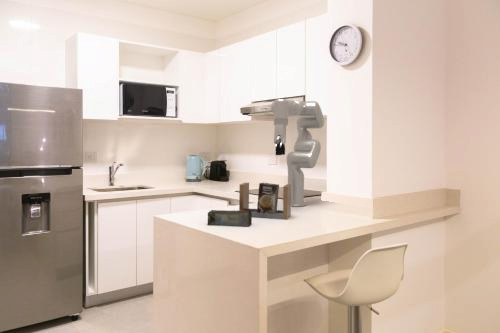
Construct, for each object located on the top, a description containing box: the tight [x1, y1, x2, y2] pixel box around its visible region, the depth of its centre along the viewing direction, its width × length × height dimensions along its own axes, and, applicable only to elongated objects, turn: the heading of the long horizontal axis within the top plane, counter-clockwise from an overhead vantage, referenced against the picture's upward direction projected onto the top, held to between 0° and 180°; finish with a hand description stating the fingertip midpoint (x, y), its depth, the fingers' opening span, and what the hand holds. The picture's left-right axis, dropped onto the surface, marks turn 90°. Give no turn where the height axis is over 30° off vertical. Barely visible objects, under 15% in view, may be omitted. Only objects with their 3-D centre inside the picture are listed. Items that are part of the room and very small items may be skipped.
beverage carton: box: [207, 209, 253, 228], centre depth 187 cm, size 8×19×7 cm, turn 83°
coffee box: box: [256, 182, 280, 213], centre depth 207 cm, size 9×6×16 cm
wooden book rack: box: [238, 182, 292, 220], centre depth 207 cm, size 11×24×16 cm, turn 75°
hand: (280, 154), depth 221 cm, fingers open, 9 cm apart
